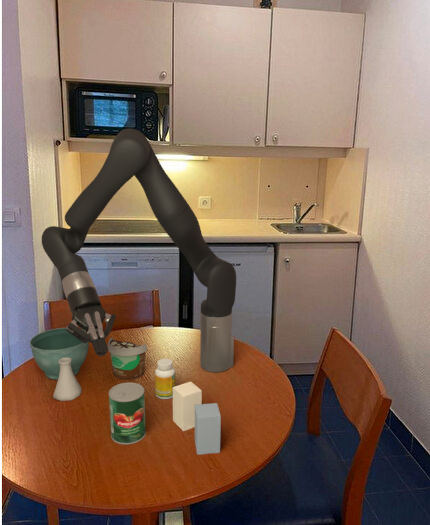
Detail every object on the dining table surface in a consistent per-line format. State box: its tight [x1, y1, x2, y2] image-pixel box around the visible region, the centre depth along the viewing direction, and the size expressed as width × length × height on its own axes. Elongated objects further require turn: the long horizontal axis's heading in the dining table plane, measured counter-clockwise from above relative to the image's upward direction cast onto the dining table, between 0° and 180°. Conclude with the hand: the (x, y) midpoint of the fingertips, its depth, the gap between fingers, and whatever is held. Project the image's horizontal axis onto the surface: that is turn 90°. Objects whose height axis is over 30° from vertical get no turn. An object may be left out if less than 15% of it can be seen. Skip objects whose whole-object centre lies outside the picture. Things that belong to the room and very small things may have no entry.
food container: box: [107, 336, 148, 381], centre depth 127 cm, size 12×6×10 cm, turn 68°
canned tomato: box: [108, 382, 147, 446], centre depth 101 cm, size 8×8×11 cm
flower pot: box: [29, 327, 90, 381], centre depth 129 cm, size 16×16×11 cm
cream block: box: [172, 381, 203, 432], centre depth 106 cm, size 5×5×9 cm
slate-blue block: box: [194, 402, 222, 455], centre depth 98 cm, size 5×5×9 cm
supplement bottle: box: [154, 358, 176, 400], centre depth 118 cm, size 5×5×10 cm
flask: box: [52, 358, 82, 402], centre depth 118 cm, size 7×7×10 cm
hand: (103, 354), depth 108 cm, fingers closed
